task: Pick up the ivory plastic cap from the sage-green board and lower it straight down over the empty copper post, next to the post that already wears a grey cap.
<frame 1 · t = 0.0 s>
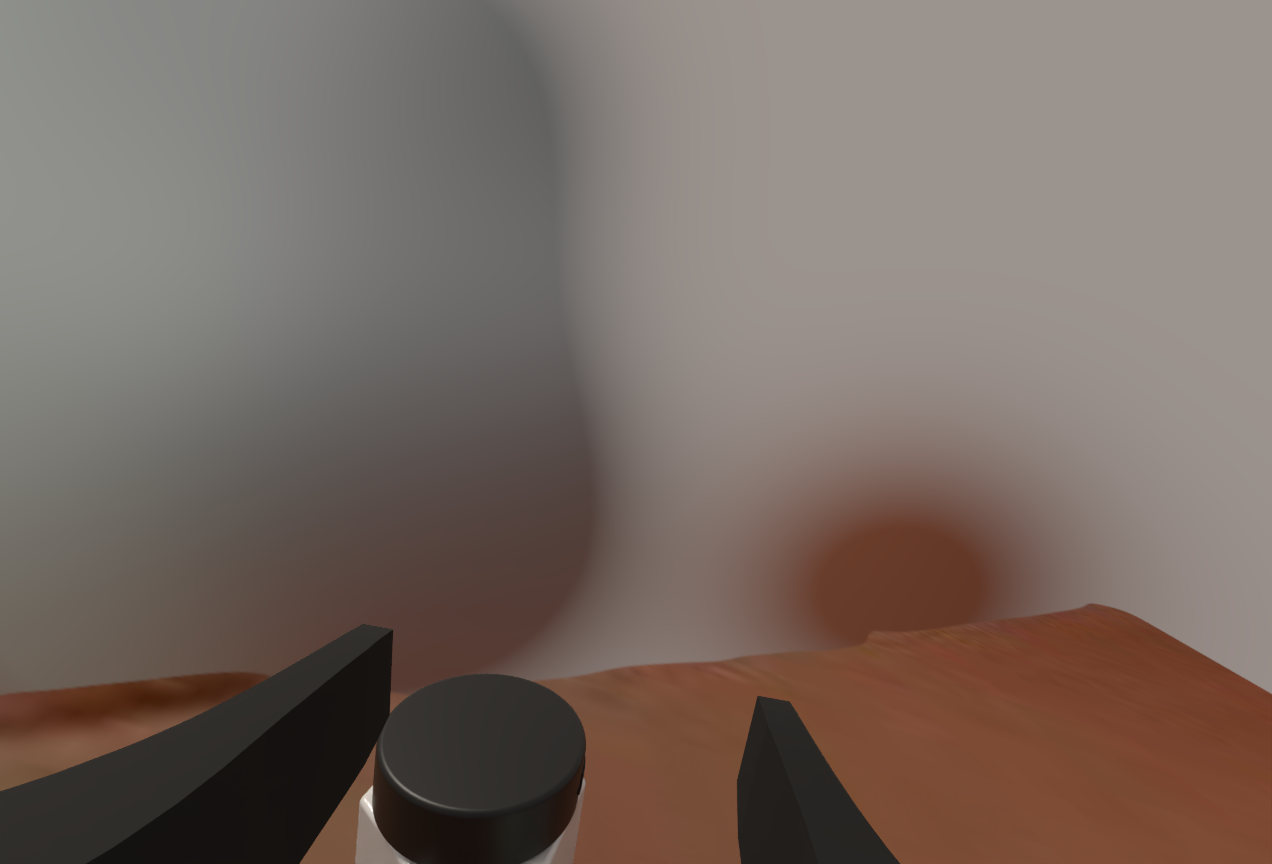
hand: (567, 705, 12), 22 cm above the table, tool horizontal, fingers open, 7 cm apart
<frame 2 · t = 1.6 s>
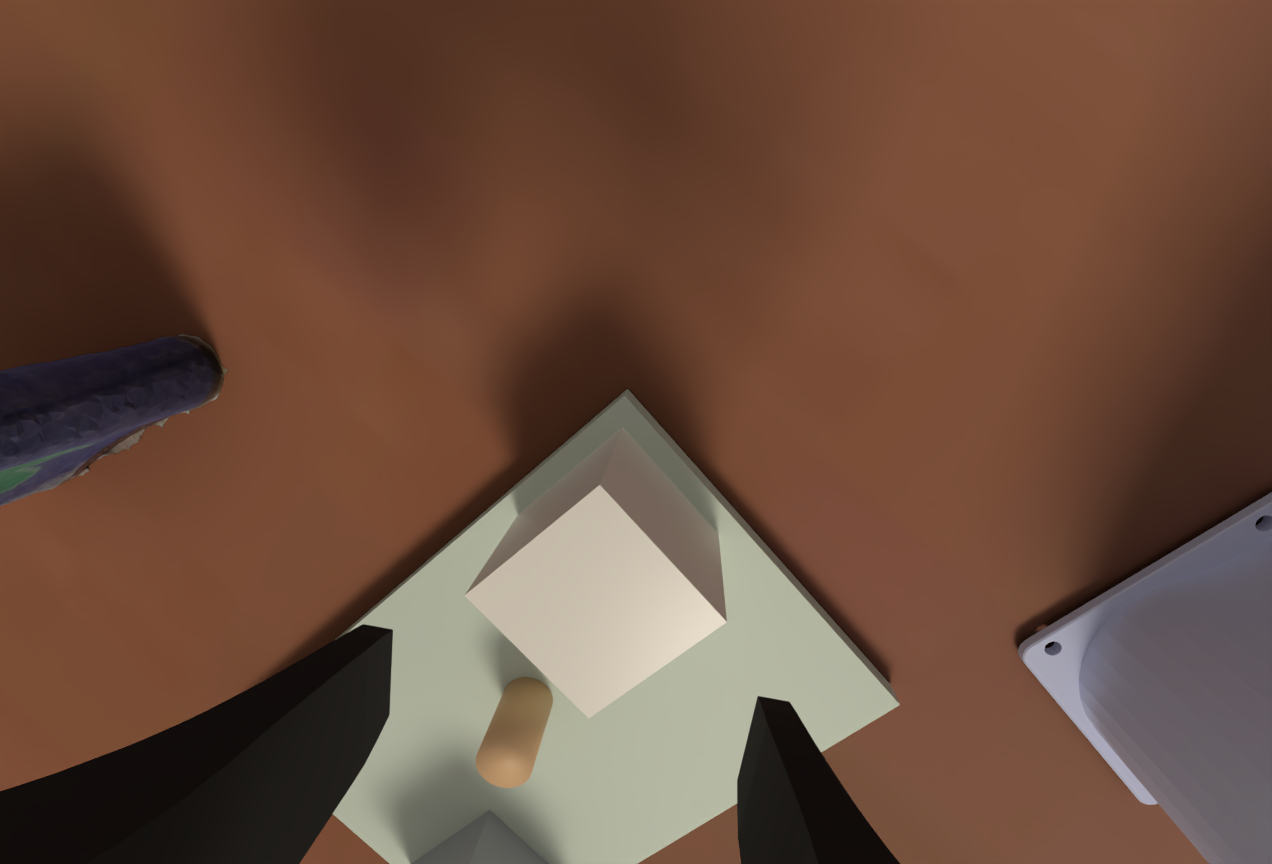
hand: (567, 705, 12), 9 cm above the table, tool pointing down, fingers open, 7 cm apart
ivory cap: (617, 524, 20), point 1 cm above the table, touching board
board: (553, 698, 23), on the table
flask: (123, 407, 22), on the table
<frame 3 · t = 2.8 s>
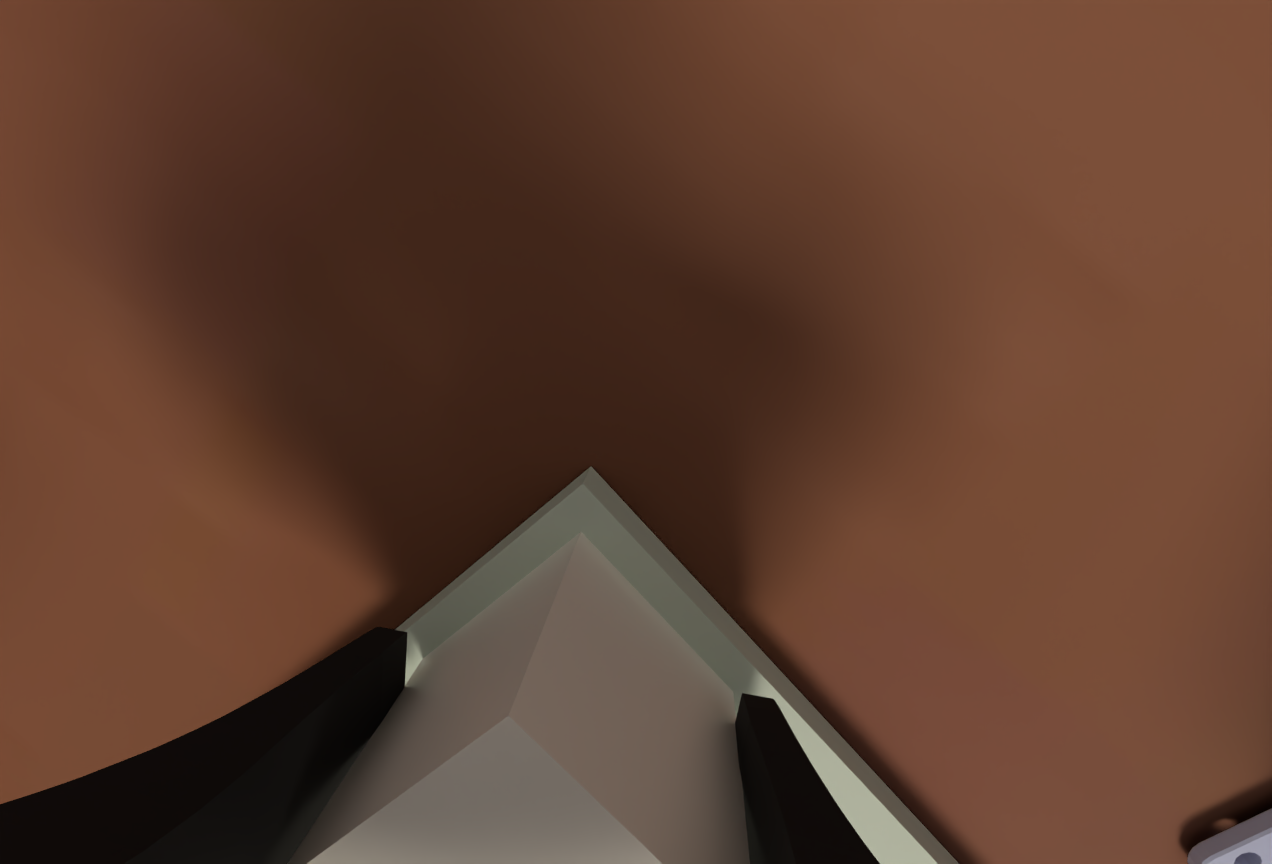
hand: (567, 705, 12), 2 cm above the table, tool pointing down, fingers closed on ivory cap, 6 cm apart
ivory cap: (575, 675, 13), point 1 cm above the table, touching board, gripper
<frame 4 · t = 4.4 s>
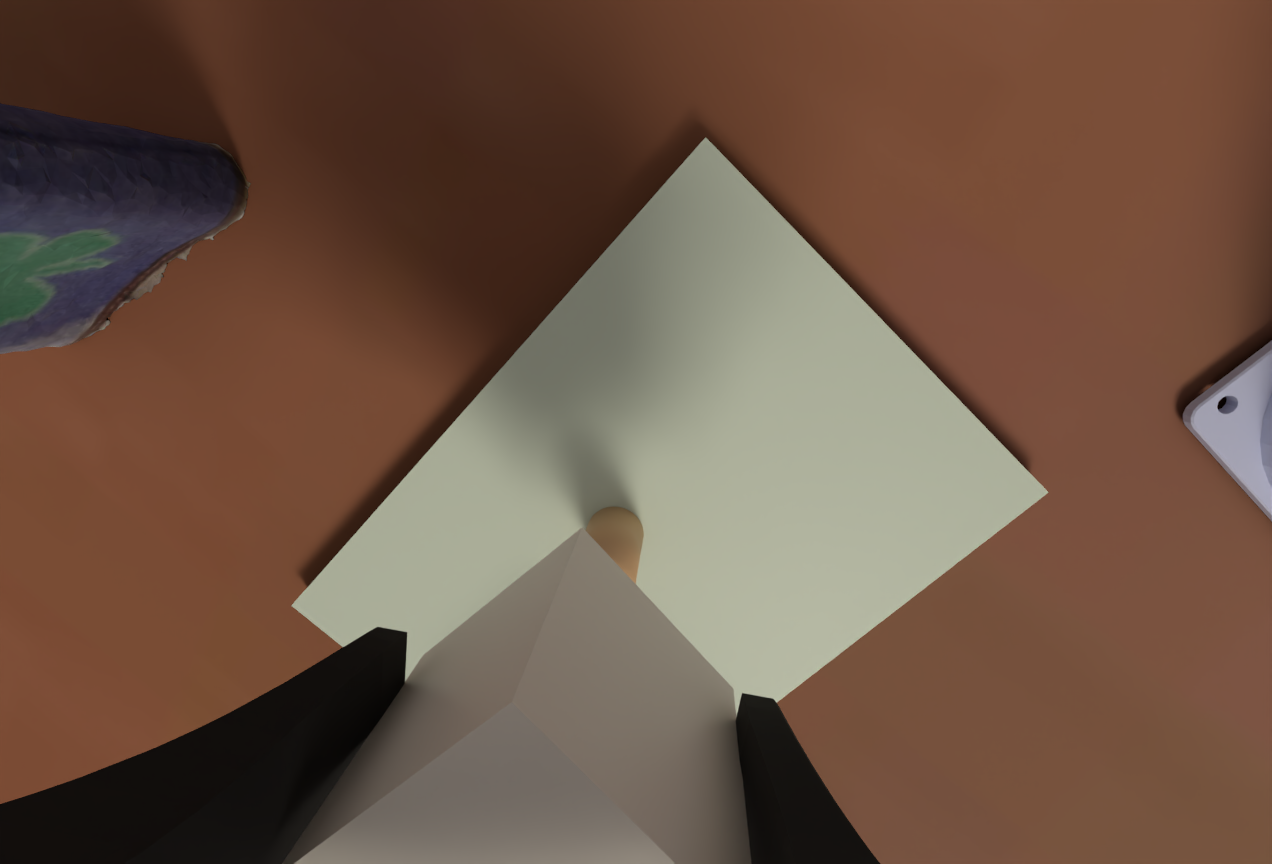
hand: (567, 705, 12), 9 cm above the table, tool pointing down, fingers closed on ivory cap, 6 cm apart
ivory cap: (575, 671, 13), point 8 cm above the table, touching gripper
board: (640, 539, 21), on the table
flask: (141, 244, 20), on the table
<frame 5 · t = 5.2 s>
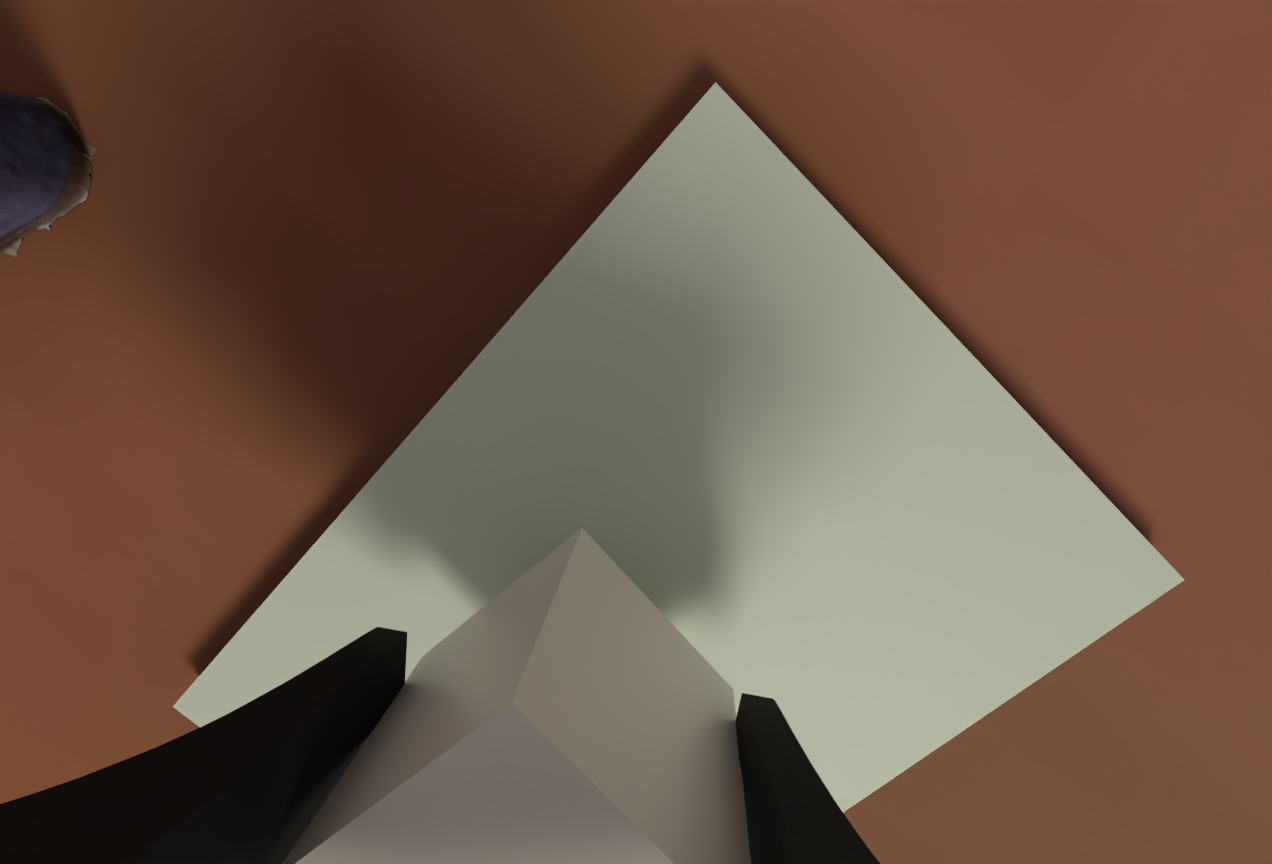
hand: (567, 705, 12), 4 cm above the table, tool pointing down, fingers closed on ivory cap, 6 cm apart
ivory cap: (575, 672, 13), point 3 cm above the table, touching gripper
board: (626, 626, 16), on the table
when the fingers open (3 cm above the table, at t = 6.1 s): ivory cap stays where it is, resting on board.
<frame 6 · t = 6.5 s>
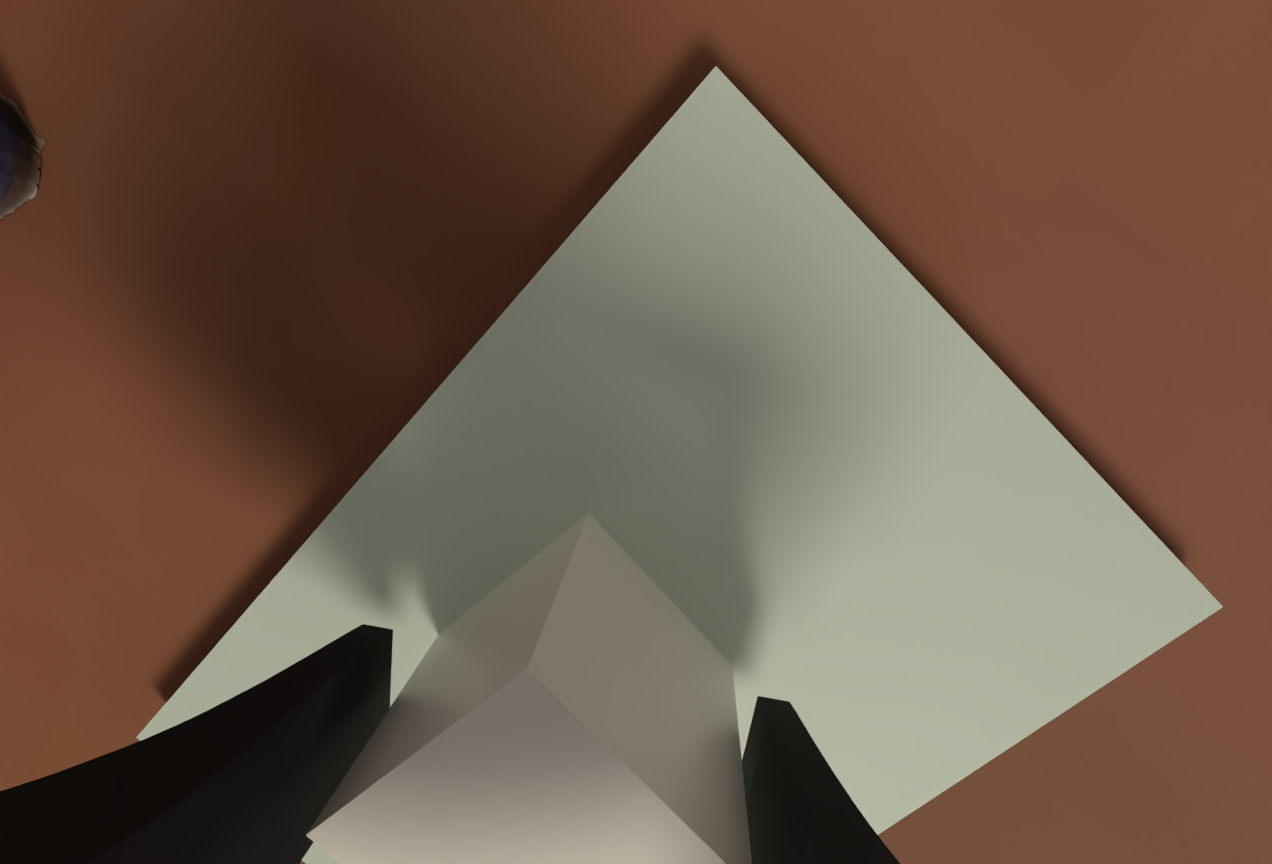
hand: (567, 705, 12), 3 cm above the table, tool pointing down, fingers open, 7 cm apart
ivory cap: (583, 649, 14), point 1 cm above the table, touching board
board: (620, 652, 15), on the table
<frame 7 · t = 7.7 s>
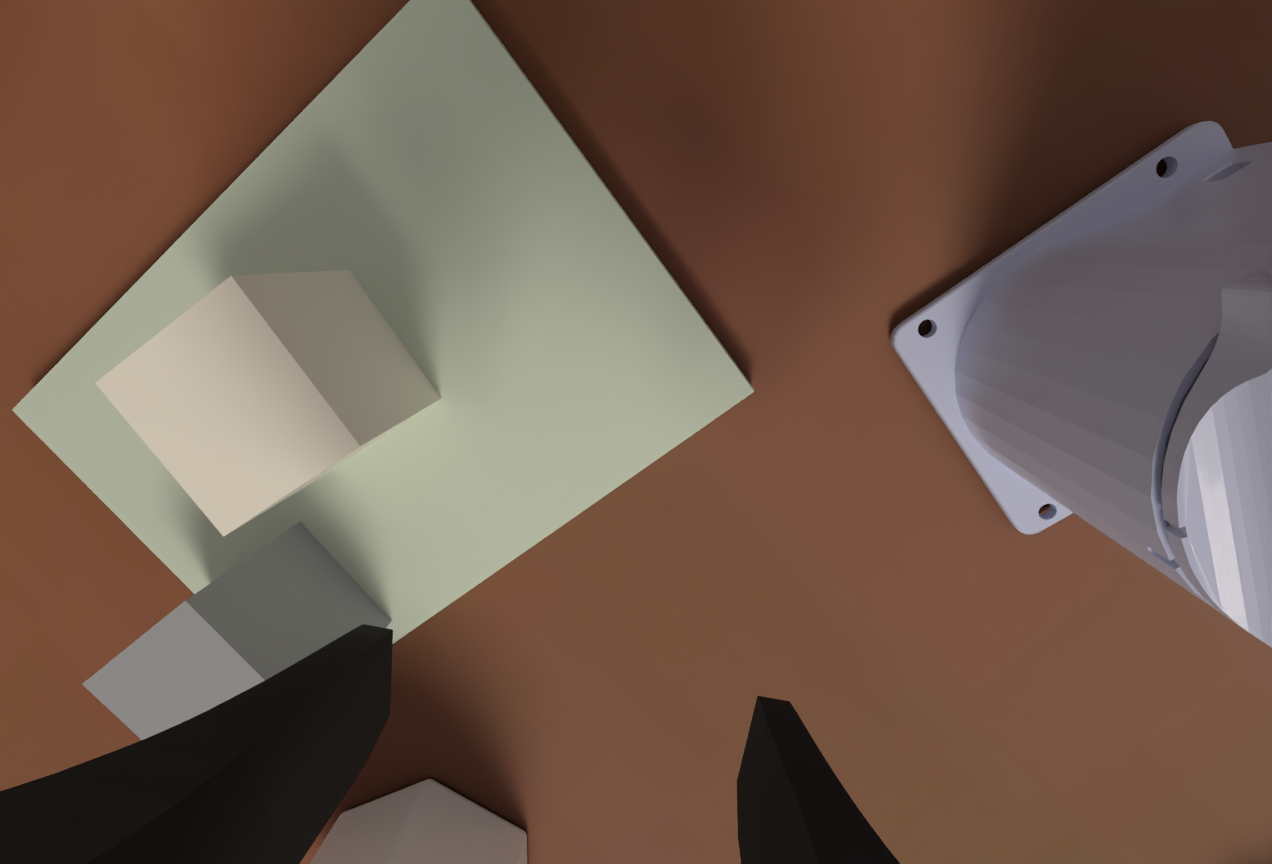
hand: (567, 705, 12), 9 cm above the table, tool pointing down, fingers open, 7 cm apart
ivory cap: (340, 374, 20), point 1 cm above the table, touching board
board: (377, 394, 21), on the table
jar: (438, 857, 26), on the table
grey cap: (302, 605, 22), point 1 cm above the table, touching board
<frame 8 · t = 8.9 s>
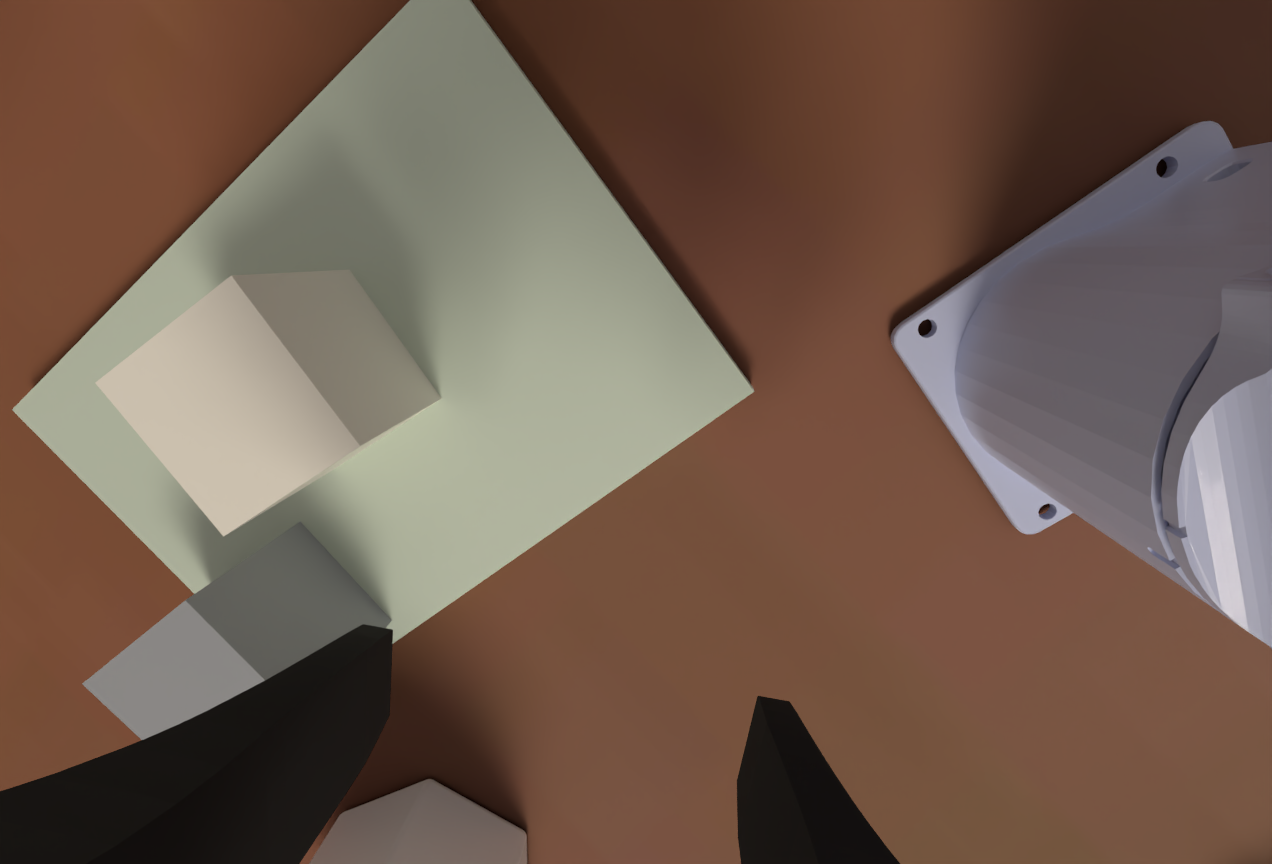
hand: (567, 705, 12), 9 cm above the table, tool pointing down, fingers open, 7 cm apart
ivory cap: (340, 374, 20), point 1 cm above the table, touching board
board: (377, 394, 21), on the table
jar: (438, 856, 26), on the table
grey cap: (302, 605, 22), point 1 cm above the table, touching board
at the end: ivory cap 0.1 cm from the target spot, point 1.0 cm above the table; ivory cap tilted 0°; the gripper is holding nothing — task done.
